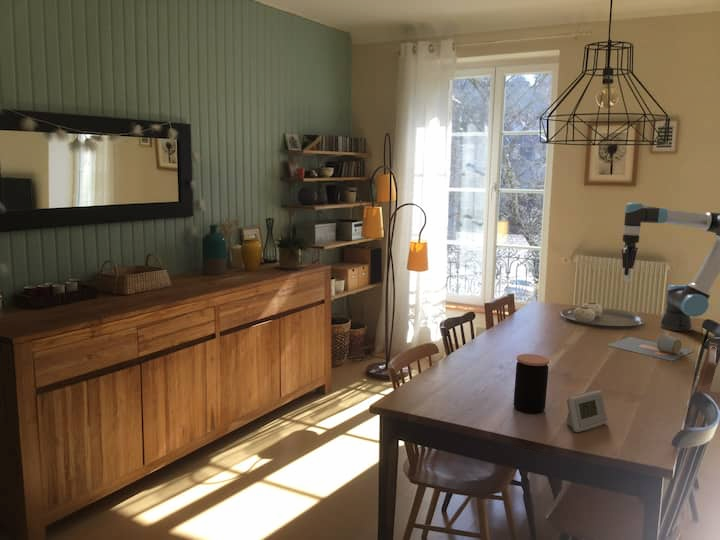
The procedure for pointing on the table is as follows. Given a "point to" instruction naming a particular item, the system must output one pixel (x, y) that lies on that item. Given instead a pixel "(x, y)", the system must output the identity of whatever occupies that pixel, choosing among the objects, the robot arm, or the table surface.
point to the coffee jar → (531, 383)
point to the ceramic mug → (668, 344)
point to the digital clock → (586, 411)
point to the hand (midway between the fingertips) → (626, 281)
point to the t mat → (647, 348)
